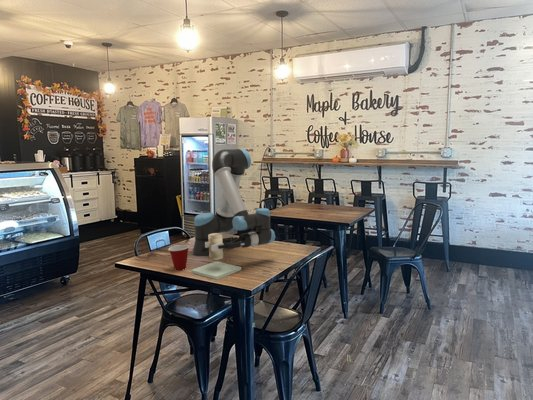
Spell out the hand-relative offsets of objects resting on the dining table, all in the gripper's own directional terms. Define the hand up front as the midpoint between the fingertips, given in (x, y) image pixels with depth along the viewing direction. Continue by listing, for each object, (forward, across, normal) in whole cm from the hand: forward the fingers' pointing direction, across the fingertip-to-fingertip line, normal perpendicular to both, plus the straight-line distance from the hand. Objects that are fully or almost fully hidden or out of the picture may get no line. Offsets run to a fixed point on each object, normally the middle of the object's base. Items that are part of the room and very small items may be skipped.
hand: (208, 246), depth 200 cm
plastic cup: (+10, +16, -14) cm, 23 cm away
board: (-4, 0, -14) cm, 14 cm away
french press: (-52, +38, -14) cm, 66 cm away
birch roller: (-4, 0, -6) cm, 8 cm away
